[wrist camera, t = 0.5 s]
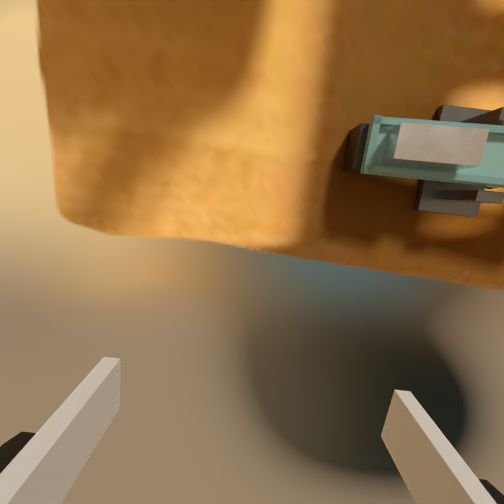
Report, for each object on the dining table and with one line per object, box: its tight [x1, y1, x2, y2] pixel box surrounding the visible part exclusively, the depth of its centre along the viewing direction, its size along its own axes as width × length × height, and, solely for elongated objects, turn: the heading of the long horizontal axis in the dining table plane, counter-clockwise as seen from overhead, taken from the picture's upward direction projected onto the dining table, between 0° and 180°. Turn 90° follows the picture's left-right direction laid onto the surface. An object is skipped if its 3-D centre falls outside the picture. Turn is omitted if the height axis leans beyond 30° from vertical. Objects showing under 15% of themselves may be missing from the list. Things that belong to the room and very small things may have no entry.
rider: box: [383, 123, 490, 170], centre depth 28 cm, size 3×8×4 cm, turn 84°
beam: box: [360, 115, 504, 189], centre depth 29 cm, size 7×28×2 cm, turn 84°
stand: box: [343, 105, 504, 217], centre depth 32 cm, size 13×29×7 cm, turn 84°
